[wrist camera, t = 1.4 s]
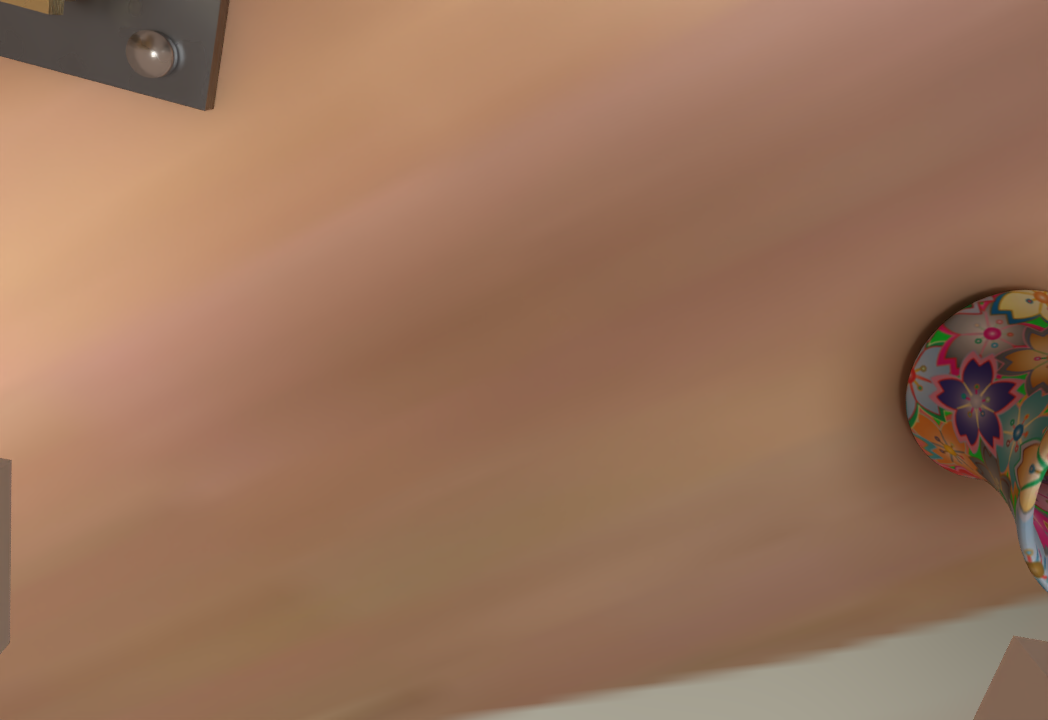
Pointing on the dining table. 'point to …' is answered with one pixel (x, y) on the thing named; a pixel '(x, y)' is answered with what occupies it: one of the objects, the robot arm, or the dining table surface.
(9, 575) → the robot arm
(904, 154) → the dining table surface
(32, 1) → the block
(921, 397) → the mug
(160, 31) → the hole plate
